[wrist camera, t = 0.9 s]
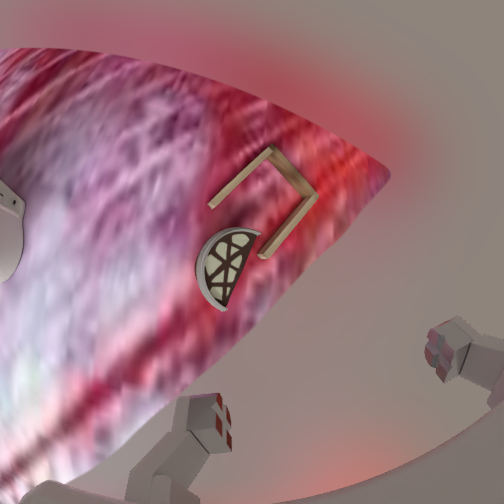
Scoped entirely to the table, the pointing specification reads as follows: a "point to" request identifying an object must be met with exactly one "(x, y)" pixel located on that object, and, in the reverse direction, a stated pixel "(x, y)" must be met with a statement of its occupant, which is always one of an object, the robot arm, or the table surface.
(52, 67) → the table surface
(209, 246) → the food container
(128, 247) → the table surface
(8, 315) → the table surface
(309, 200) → the wooden u-shaped frame
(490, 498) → the robot arm
